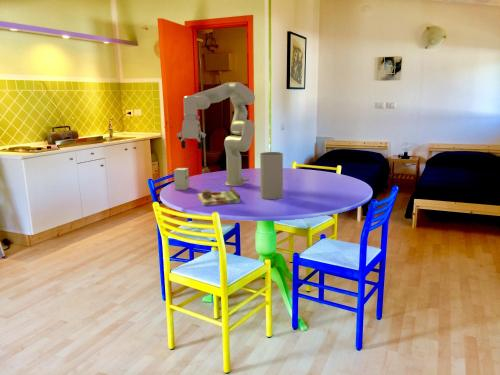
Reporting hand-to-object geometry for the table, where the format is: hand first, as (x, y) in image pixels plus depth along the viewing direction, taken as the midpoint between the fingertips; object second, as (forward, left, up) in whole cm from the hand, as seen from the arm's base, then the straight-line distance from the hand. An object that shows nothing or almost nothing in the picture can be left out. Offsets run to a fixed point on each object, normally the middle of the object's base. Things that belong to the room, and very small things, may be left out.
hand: (191, 148), depth 236 cm
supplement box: (+4, -21, -28) cm, 35 cm away
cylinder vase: (-42, +19, -28) cm, 54 cm away
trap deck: (-12, +14, -28) cm, 33 cm away
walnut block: (-5, +14, -26) cm, 30 cm away
